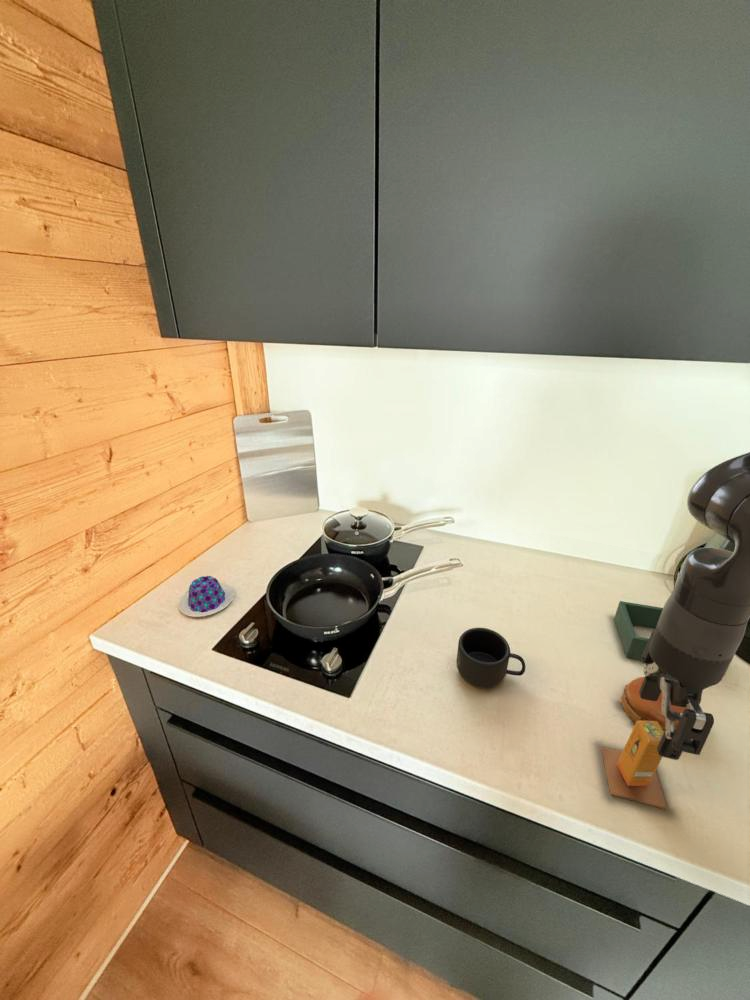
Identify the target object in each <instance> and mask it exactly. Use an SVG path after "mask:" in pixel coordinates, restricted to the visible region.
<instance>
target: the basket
mask: <svg viewBox="0 0 750 1000" xmlns="http://www.w3.org/2000/svg"><path fill="white" fill-rule="evenodd" d="M662 610H663V607H661V606H653V605H647V604H641V603H635V602H629V601H624V600H623V601H622V600H620V601H619V603H618V606H617V608H616V612H615V614H614V617H613V620H614V624H615V627H616V630H617V633H618V636H619V639H620V643H621V646H622V649H623V652H624V655H625V658H627V659H628V658H629V659H634V660H639V661H642V659H641V657H642V654H643V652H644V650H645V647H646V645H647V643H648V640H649V638H650V637H649V638H648V637H644V636H638V635H637V634H636V631H635V629H634V626H638V627H644V628H645V627H646V628H650V629H656V626H657V623H658V621H659V618H660V615H661V613H662ZM633 625H634V626H633Z"/></svg>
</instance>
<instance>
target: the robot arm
mask: <svg viewBox="0 0 750 1000" xmlns="http://www.w3.org/2000/svg"><path fill="white" fill-rule="evenodd" d="M686 498H687V499H686V506H687V510H688V512H689V514H690V515H691V517H692V518H694V519H695V520H696V521H697V522H698V523H700V524H701V525H702V526H705V527H706V528H707V529H709V530H711V531H713V532H715V533H717V534H718V535H719V536H721V537H723V538H725V539H726V540H728V541H729V542H731V543H733V544H734V545H735V546H734V550H733V551H731V550H728V549H723V548H718V547H710V546H707V547H698V548H696V549H694V550H691V552H690V553H689V554H687V556H686V557H685V559H684V561H683V563H682V566H681V568H680V570H679V573H678V575H677V578H676V581H675V583H674V586H673V589H672V591H671V593H670V595H669V597H667V600H666V601H665V603H664V605H663V607H662V608H663V610H662V613H661V615H660V618H659V621H658V623H657V626H656V628H654V630H652V632H651V633H650V635H649V640H648V643H647V645H646V647H645V650H644V652H643V654H642V657H641V659H642V660H641V662H642V664H645V665H646V666H645V667H644V668H643V675H644V677H645V678H644V681H643V683H642V686H641V688H640V691H639V694H640V697H641V698H642V699H645V700H650V701H657V700H658V698H659V696H660V693H661V691H662V708H661V712H662V714H663V715H664V716H665V718H666V724H665V731H664V734H663V736H662V738H661V740H660V742H659V745H658V747H657V750H658V754H659V755H660V756H662V758H666V759H670V760H675V761H679V759H680V757H681V755H682V754H683V753H688V754H692V755H697V756H699V755H701V753H702V750H703V748H704V746H705V743H706V741H707V739H708V737H709V735H710V733H711V731H712V728H713V726H714V724H715V717H714V715H713V714H712V713H710V712H704V711H703V709H702V707H701V701H702V696H703V691H704V690H706V689H708V688H711V687H713V686H715V685H717V684H719V683H720V682H722V681H723V679H724V677H725V674H726V672H727V671H728V669H729V666H730V665H731V663H732V661H733V659H734V657H735V655H736V654H737V653H736V652H737V651H738V649H739V647H740V645H741V643H742V641H743V638H744V636H745V633H746V629H747V626H748V623H749V620H750V452H749V451H748V452H746V453H742V454H740V455H738V456H734V457H732V458H730V459H727V460H725V461H722V462H721V463H719V464H717V465H715V466H713V467H711V468H710V469H709V470H707V471H706V472H705V473H703V474H702V475H701V476H700V477H698V479H697V480H696V481H695V482H694V483H693V484H692V486H691V488H690V490H689V491H688V495H687V497H686ZM671 705H673V706H678V707H687V709H684V711H683V713H679V712H674V711H671ZM676 720H677V721H679V724H678V726H677V729H676V730H675V729H674V722H675V721H676Z"/></svg>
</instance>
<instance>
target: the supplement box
mask: <svg viewBox="0 0 750 1000" xmlns="http://www.w3.org/2000/svg"><path fill="white" fill-rule="evenodd" d="M663 734H664V731H663V729H662V728H661V726H660V725H659V723H658V722H657V721H636V722H634V725H633V727H632V731H631V733H630V734H629V736H628V739H627V741H626V743H625V745H624V747H623V750H622V751H621V752H622V754H621V756H620V758H619V760H618V762H617V766H618V768H619V770H620V772H621V774H622V776H623V778H624V780H625V782H626V784H627V785H628V786H648V785H649V783H650V781H651V779H652V777H653V775H654V773H655V771H656V772H657V769H658V767H659V765H660V763H661V761H662V759H663V757H662V756H660V755H659V754H658V750H657V747H658V745H659V742H660V740H661V738H662V736H663Z"/></svg>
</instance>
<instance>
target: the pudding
mask: <svg viewBox="0 0 750 1000" xmlns="http://www.w3.org/2000/svg"><path fill="white" fill-rule="evenodd" d="M234 597H235V591H234V588H233V587H232V586H230V585H229V584H227V583H226V582H225V583H224V582H220V581H219V580H218V579H217V578H216V577H213V576H211V575H206V576H204V575H202V576H199V577H198V578H195V579H193V581H192V582H191V583H190V585H189V586H188V591H186V592H184V594H183V595H182V596H181V597H180V599H179V601H178V609H179V611H180V612H181V613H182V614H184V616H185V615H186V616H189V617H194V618H195V617H196V618H199V617H201V618H202V617H207V616H210V615H213V614H216V613H218V612H221V611H222V610H224V609H225V608H226V607H227V606H229V605H230V603H231V602H232V601H233V599H234Z"/></svg>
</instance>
